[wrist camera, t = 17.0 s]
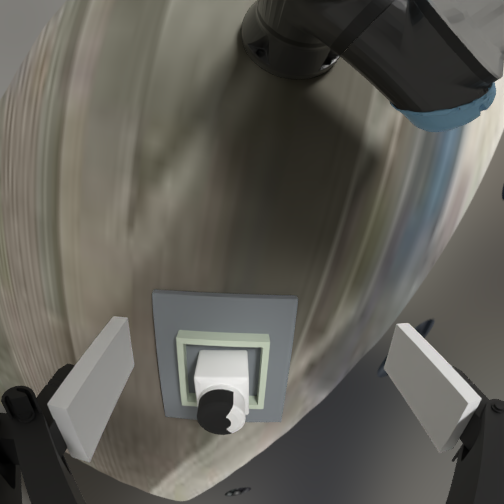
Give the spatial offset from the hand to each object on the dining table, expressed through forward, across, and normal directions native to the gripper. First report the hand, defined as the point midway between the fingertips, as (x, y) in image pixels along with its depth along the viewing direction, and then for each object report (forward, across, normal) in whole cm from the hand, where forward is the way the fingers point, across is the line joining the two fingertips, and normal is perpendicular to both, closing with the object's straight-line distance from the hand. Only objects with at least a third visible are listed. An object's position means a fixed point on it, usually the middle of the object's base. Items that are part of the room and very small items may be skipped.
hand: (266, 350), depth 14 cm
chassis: (+32, -3, -23) cm, 39 cm away
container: (+30, -3, -23) cm, 38 cm away
